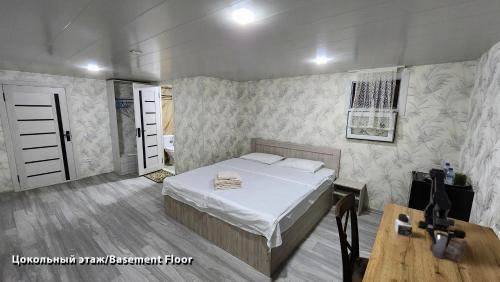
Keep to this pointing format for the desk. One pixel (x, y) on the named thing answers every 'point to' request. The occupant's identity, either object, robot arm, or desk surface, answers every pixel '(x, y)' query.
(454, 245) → the bore block
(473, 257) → the desk surface
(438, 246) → the steel peg
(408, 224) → the medicine bottle
